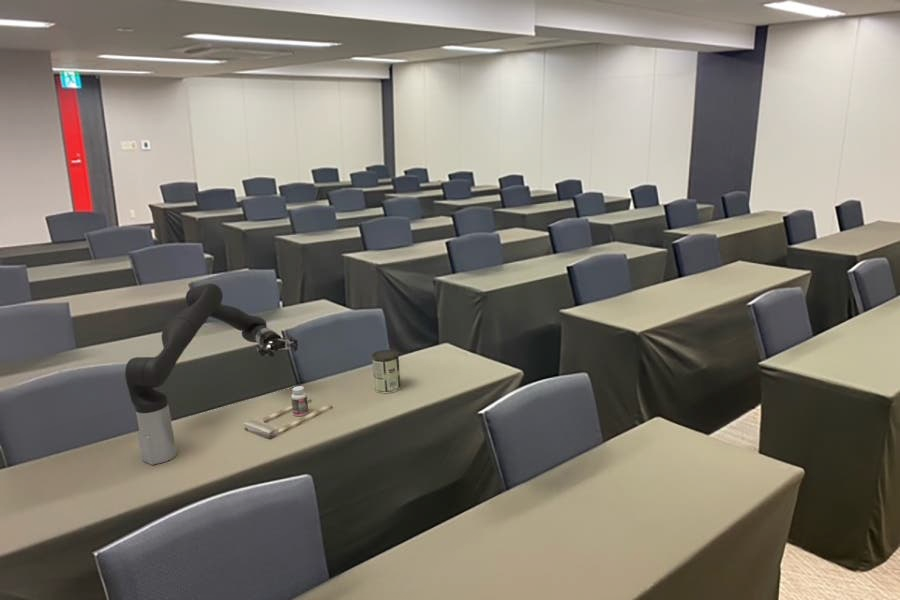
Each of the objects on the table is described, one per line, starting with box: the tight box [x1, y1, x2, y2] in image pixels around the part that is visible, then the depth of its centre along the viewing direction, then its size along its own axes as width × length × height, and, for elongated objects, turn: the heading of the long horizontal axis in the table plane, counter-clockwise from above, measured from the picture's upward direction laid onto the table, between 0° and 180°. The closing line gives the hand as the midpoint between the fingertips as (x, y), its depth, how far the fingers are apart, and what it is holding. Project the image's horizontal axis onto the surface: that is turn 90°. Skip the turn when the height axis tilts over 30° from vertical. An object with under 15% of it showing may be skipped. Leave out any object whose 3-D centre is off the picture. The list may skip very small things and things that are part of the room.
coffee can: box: [371, 349, 402, 394], centre depth 242 cm, size 10×10×14 cm
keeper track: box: [243, 397, 333, 441], centre depth 222 cm, size 28×13×2 cm, turn 143°
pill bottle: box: [290, 385, 309, 417], centre depth 225 cm, size 5×5×10 cm
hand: (284, 351), depth 229 cm, fingers open, 8 cm apart
